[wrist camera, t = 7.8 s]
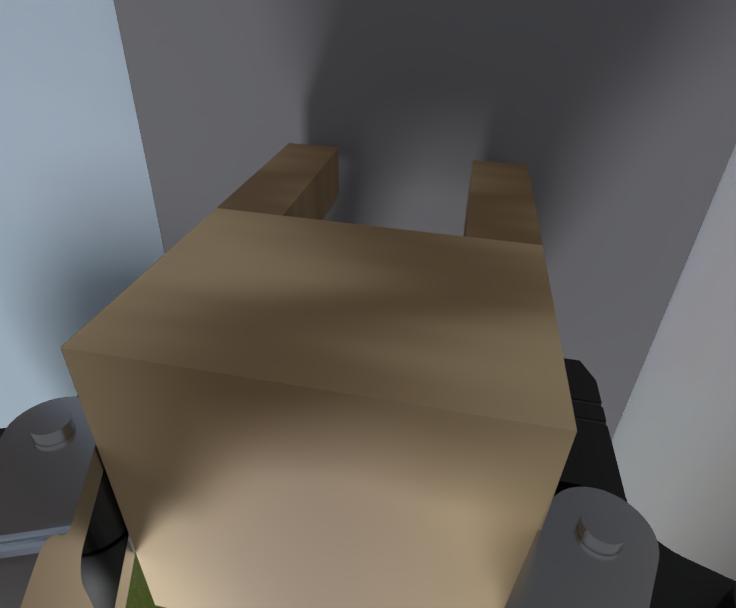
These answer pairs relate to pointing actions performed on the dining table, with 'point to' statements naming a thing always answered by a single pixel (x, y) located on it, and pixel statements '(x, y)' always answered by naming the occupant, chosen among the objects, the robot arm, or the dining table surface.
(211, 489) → the notched wooden block
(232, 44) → the mat
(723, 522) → the dining table surface
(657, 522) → the dining table surface
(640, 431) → the dining table surface
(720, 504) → the dining table surface
